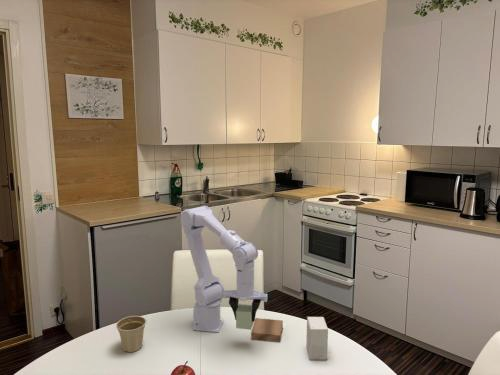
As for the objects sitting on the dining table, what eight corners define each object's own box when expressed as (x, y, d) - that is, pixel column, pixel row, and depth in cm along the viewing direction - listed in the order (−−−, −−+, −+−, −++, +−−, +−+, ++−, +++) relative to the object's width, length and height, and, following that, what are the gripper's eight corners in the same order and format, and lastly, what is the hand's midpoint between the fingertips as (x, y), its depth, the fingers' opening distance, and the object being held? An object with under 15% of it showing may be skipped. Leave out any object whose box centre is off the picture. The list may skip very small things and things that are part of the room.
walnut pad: (251, 340, 129) (251, 332, 129) (255, 325, 139) (255, 317, 138) (280, 343, 128) (280, 335, 127) (282, 328, 137) (282, 320, 137)
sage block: (236, 328, 123) (236, 311, 122) (239, 320, 128) (239, 303, 127) (251, 329, 122) (251, 312, 121) (253, 321, 127) (253, 305, 126)
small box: (327, 360, 118) (328, 329, 116) (309, 360, 118) (310, 329, 116) (322, 345, 126) (324, 316, 124) (306, 345, 126) (307, 316, 124)
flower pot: (112, 347, 124) (110, 323, 123) (137, 335, 131) (136, 312, 129) (126, 359, 118) (125, 333, 116) (152, 346, 125) (151, 322, 123)
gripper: (220, 283, 120) (220, 323, 122) (265, 287, 118) (265, 327, 120) (225, 275, 127) (226, 312, 129) (268, 278, 124) (267, 316, 127)
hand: (245, 319), depth 125 cm, fingers closed on sage block, 5 cm apart
